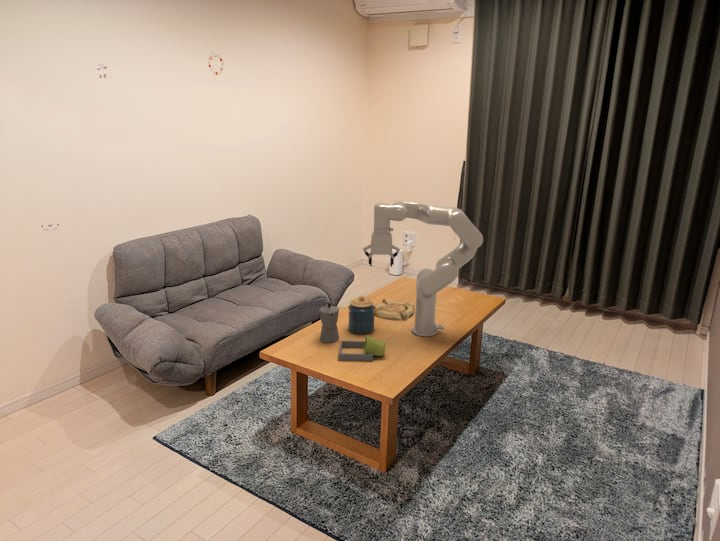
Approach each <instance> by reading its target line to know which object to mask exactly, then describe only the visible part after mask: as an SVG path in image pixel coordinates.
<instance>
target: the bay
mask: <svg viewBox="0 0 720 541" xmlns="http://www.w3.org/2000/svg"><path fill="white" fill-rule="evenodd" d="M364 344H365V340H364V341H363V340H362V341H361V340H340V343H339V350H338V357H337V358H338V360H337V361H344V362H345V361H349V362H352V361H353V362H354V361H357V362H373V360H374V356H373V354H363V353H352V352H349V353H348V352H347V353H345V352H343V348H345V349H346V348H347V349H349V348H351V349H353V348H354V349H364ZM342 352H343V353H342Z"/></svg>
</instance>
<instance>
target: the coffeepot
mask: <svg viewBox="0 0 720 541" xmlns="http://www.w3.org/2000/svg"><path fill="white" fill-rule="evenodd" d="M318 310H319V317H320V322H321V324H322V325H321V330H320V336H319V340H320V341H321V342H323V343H327V344H329V343H330V344H332V343H336V342H338V341H339V339H340V335H339V334H340V333H339V329H338V326H337V323H338V319H339V313H340V312H339V311H340V308H339V307H337V306H335V305H334V306H333V305H332V303H330V302H329V303H327V302H325V303H324V304H323V306H321V307H320V309H318Z"/></svg>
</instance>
